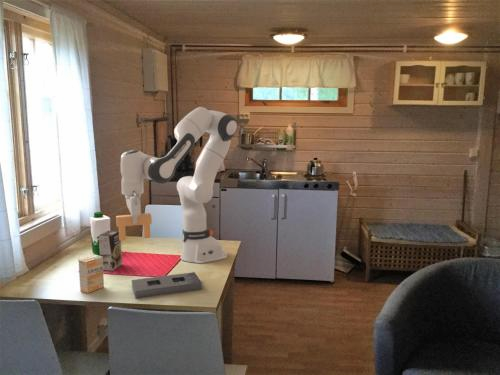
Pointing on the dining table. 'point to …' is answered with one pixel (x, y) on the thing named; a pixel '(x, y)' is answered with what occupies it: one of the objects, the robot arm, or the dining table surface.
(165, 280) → the holed rail
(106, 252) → the coffee box
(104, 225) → the milk carton
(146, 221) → the orange u-shaped block
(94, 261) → the supplement box
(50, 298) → the dining table surface
